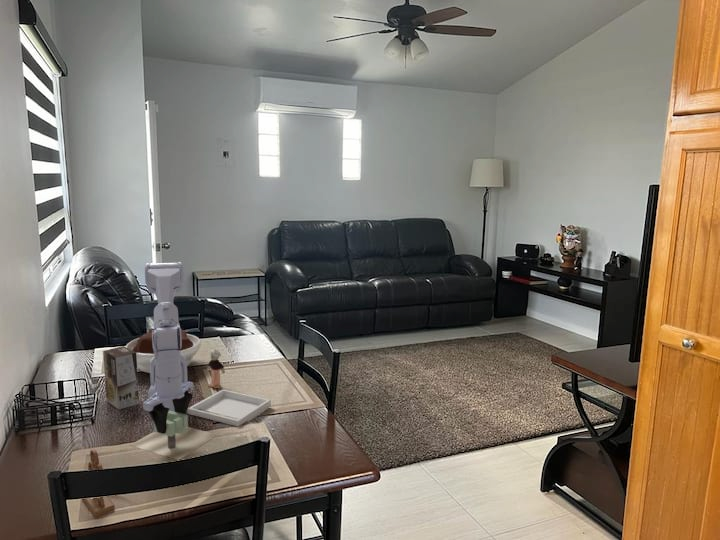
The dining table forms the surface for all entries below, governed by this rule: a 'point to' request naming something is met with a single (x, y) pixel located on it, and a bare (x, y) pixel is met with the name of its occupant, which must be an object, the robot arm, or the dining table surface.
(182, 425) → the green block stack
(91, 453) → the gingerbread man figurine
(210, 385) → the grandmother figurine
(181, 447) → the board
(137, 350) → the bowl of brown treats
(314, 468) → the dining table surface
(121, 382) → the coffee box
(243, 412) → the tray
